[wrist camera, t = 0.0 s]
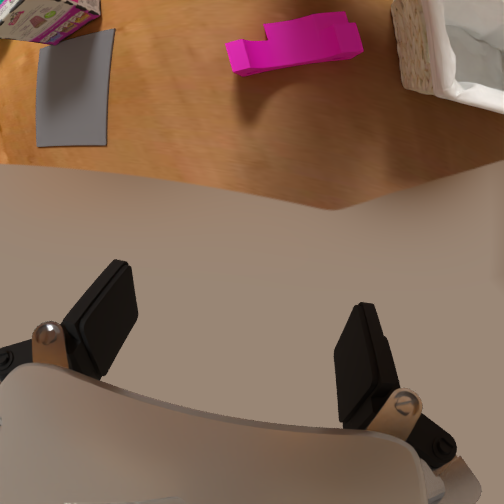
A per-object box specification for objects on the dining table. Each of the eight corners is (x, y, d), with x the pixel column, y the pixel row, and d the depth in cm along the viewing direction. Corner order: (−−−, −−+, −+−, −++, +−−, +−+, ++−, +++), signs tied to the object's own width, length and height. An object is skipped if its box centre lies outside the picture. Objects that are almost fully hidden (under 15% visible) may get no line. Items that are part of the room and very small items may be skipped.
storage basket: (501, 32, 20) (556, 28, 8) (509, 118, 28) (567, 137, 16) (380, -3, 24) (418, -40, 11) (393, 97, 32) (444, 100, 19)
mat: (41, 49, 31) (40, 48, 30) (115, 28, 30) (114, 28, 30) (38, 146, 41) (36, 146, 40) (107, 144, 40) (105, 145, 40)
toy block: (339, 20, 28) (349, 4, 21) (350, 59, 30) (363, 51, 24) (231, 38, 31) (219, 25, 24) (242, 77, 34) (232, 71, 27)
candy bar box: (100, -5, 26) (35, -32, 11) (102, 15, 28) (32, -9, 13) (54, 26, 29) (-12, 15, 14) (54, 47, 30) (-15, 39, 15)
